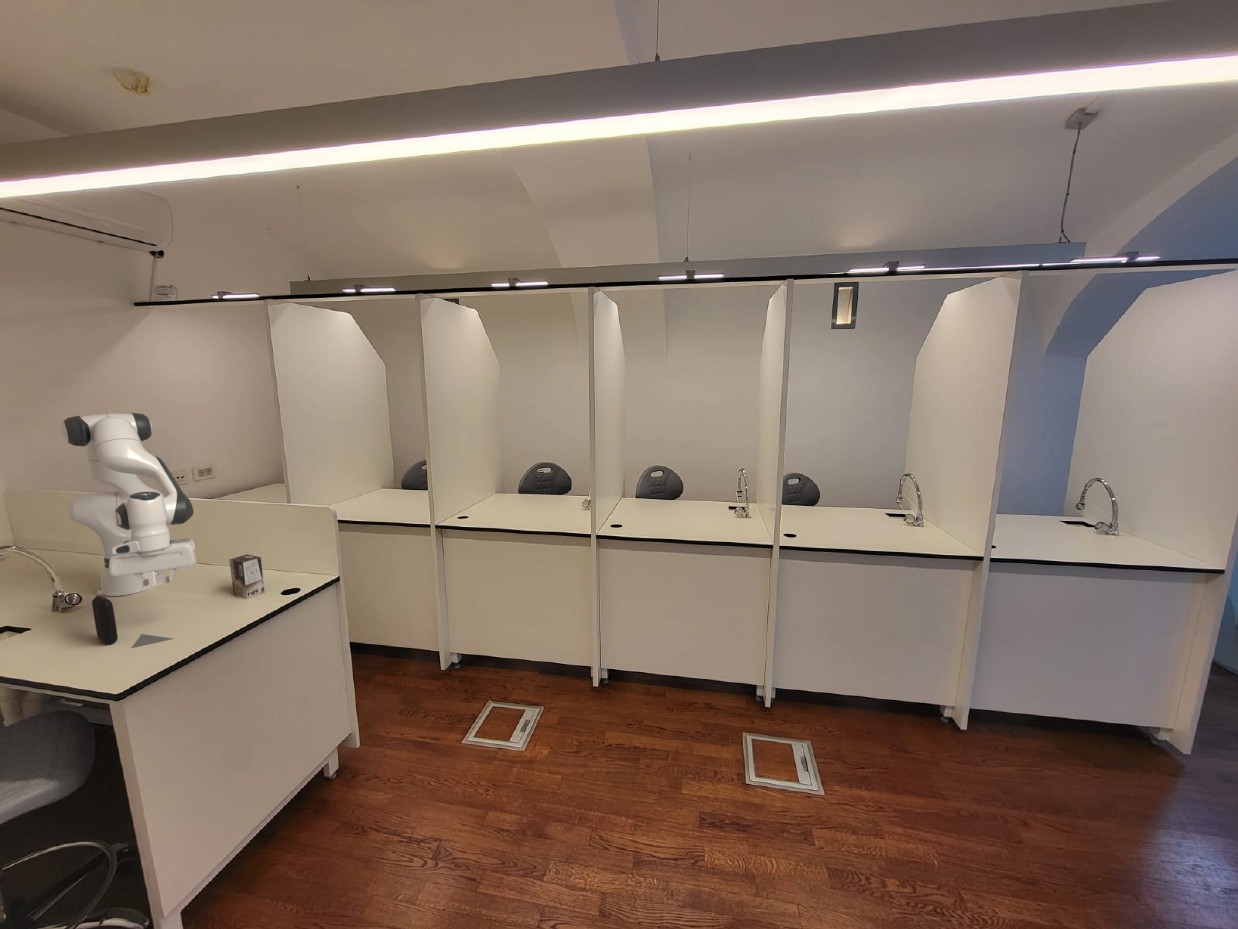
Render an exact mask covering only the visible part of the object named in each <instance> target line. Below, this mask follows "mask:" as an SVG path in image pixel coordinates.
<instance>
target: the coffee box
mask: <svg viewBox="0 0 1238 929" xmlns="http://www.w3.org/2000/svg"><path fill="white" fill-rule="evenodd" d="M262 566H263V565H262V557H260V556H256V555H253V554H248V553H247V554H243V555H240V556H237V557H233V558H229V567H230V568H229V569H230V575H231V576H230V577H231V585H232V590H233V595H234V596H235V597H238V598H241V599H245V600H249V599H253V598H254V597H257V596H261V595H263V594H265V586H264V585H265V584H264V576H263V575H264V574H263V567H262Z"/></svg>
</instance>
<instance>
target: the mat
mask: <svg viewBox="0 0 1238 929" xmlns="http://www.w3.org/2000/svg"><path fill="white" fill-rule="evenodd" d="M171 640H175V638H172V637H165V636H157V635H152V634H150V635H149V634H143V633H141V634H140V636H139V637H138V638H137V640H136V641H135V643H134V644H133V645H132V646H131V648H132V649H134V648H138V647H139V648H140V647H143V646H148V645H152V644H156V643H161V642H165V641H171Z"/></svg>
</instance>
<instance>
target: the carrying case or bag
mask: <svg viewBox="0 0 1238 929" xmlns="http://www.w3.org/2000/svg"><path fill="white" fill-rule="evenodd" d="M91 605H92V606H91V607H92V611H93V613H92V614H93V618H94V625H95V630H96V635H97V638H98V639H99V641H101V642H102V643H103V644H105V645H114V644H115V643H116V642H117V641H118V637H119V636H118V630H117V629H118V628H117V624H116V623H117V622H116V616H115V610H114V605H113V601H111V600H110V599H109V598H107V597H105V596H104V595H96V596H95V598H93V599H92V601H91Z"/></svg>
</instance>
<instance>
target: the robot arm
mask: <svg viewBox="0 0 1238 929" xmlns="http://www.w3.org/2000/svg"><path fill="white" fill-rule="evenodd" d="M153 430H154V427H153V423H152V421H151V420H150V419H149V417H148V416H147V415H145V414H144V413H137V412H131V413H122V412H121V413H120V412H110V413H109V412H108V413H100V414H90V415H89V414H88V415H82V416H80V415H74V416H69V417H66V418H65V419H64V420H63V422H62V425H61V430H60V432H61V435H62V437H63V438H64V439H65V441H66V442H67V443H68V444H69V445H72V446H73V447H75V446H76V447H86V450H87V451H86V452H87V459H88V464H89V469H90V475H91V478H92V479H93V480H94V481H96V483H97V482H98V484H102V485H106V486H111V487H113V488H115V489H117V490H118V491H111V492H109V491H108V492H99V493H89V494H86V495H85V494H84V495H80V496H76V497H74V498H72V499H71V501H69V503H68V505H67V508H66V509H67V514H68V516H69V518H70V519H72V521H74V522H76V523H77V524H81V525H83V526H86V527H88V528H89V529H91V530H93V531H94V533H96V535H98V537H99V538H100V541H101V544H102V547H103V551H104V552H103V553H104V558H103V565H104V567H105V569H103V570H102V571H101V572H100V582H101V583H100V585H101V589H99V590H97V591H96V596H107V597H119V596H126V595H132V594H136V593H140V592H144V591H146V590H150V589H153V588H155V587H158V586H161V585H164V584H165V583H168V584H169V583H173V582H174V575H175V573H176V572H177V569H180V568H186V567H187V568H189V567H193V566H194V565H196V563H197V561H198V558H197V553H196V551H195V550H196V542H195V540H193V539H190V538H183V539H171V532H170V528H169V527H168V526H169V525H171V526H173V525H182V524H185V523H186V522H187V521H189V520H190V519H191V518H192V517H193V515H194V507H193V506H194V505H193V504H192V502H191V500H190V499H189V497H188V496H187V495H186V494H185V493H184V491H183V490H182V489H181V487H180V485H179V483H178V482H177V481H176V479H175V477H174V476H173V475H172V473H171V471H170V469H169V468H168V466H167V465H166V464H165V462H164V461H163V459H161V458H160V457H158V456H156V455H153V454H151V453H150V452H149V451H147V450H146V448H144V446H143V443H142V442H144V441H146V440H148V439H149V438H151V437H152V433H153ZM139 476H140V477H141V476H142V477H146V478H149V479H152V480H153V481H154V482H155V483H156V484H157V485H158V487H159V489H160V490H161V491H159V490H157V489H155V488H153V487H151V486H150V487H149V485H147V484H145V483H144V482H143V481H142V480H141V479H140V478H139ZM167 570H168V572H169V573H170V574H169V575H167V576H166V577H165V572H159V571H167ZM163 583H164V584H163ZM157 585H158V586H157ZM154 586H155V587H154Z"/></svg>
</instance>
